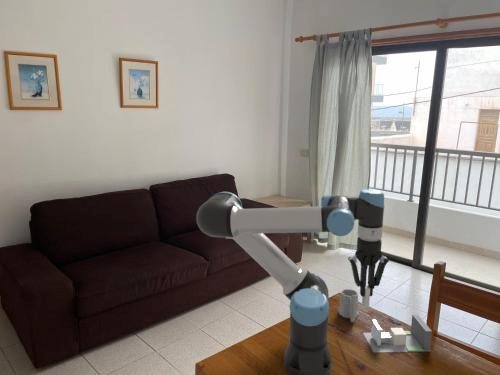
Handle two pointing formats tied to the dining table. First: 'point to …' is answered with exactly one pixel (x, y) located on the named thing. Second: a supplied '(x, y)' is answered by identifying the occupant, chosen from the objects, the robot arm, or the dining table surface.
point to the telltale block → (398, 336)
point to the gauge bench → (407, 339)
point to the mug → (349, 304)
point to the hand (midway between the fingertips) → (365, 304)
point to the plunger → (379, 334)
